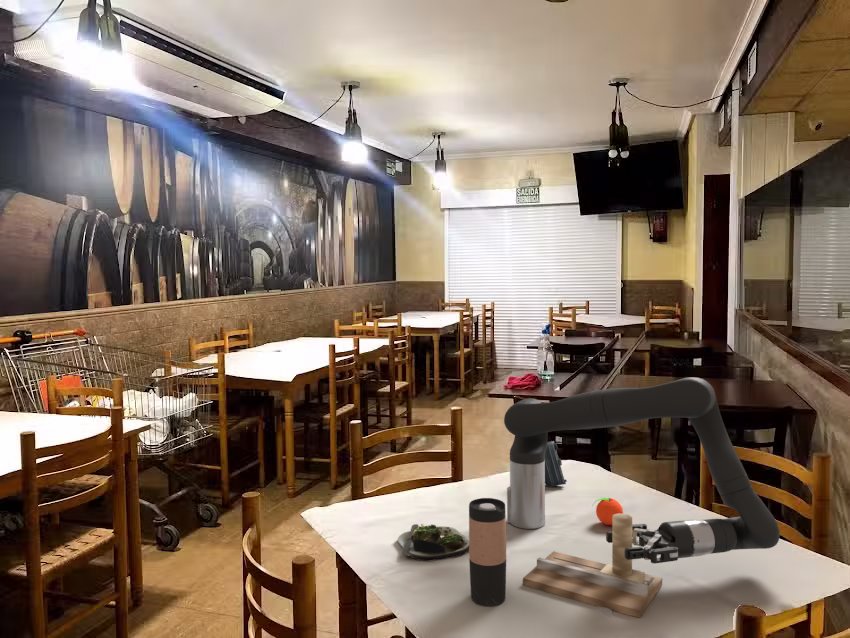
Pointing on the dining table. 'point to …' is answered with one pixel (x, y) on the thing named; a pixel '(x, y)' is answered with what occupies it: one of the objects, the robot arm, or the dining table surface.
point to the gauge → (622, 551)
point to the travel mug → (487, 551)
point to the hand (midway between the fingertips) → (615, 545)
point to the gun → (553, 466)
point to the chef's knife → (607, 611)
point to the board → (591, 584)
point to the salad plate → (433, 542)
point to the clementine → (607, 510)
